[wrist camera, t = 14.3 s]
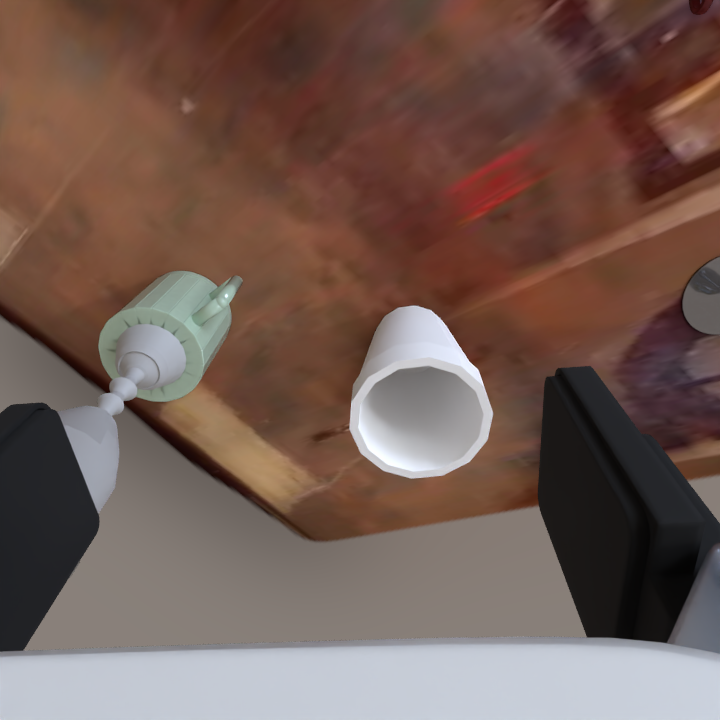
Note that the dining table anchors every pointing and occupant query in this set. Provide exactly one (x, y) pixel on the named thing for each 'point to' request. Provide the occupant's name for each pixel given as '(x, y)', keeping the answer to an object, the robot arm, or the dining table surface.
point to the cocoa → (699, 6)
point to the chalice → (120, 403)
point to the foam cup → (418, 398)
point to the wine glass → (704, 298)
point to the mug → (176, 325)
